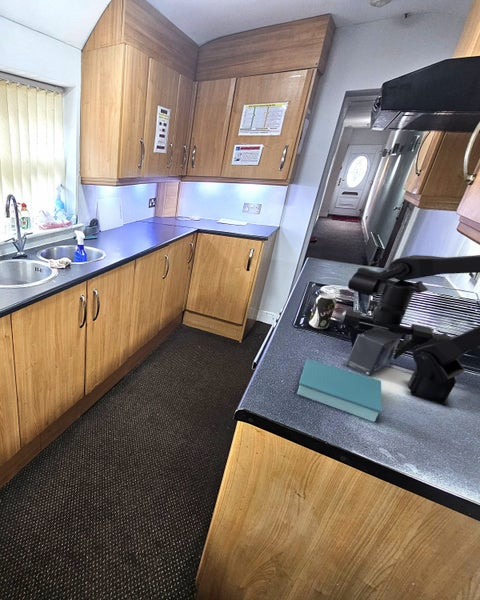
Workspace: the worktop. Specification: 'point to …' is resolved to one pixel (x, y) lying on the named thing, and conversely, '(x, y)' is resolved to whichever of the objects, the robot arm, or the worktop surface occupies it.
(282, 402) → the worktop surface
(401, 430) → the worktop surface
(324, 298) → the beverage can
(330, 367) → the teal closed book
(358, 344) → the small box
